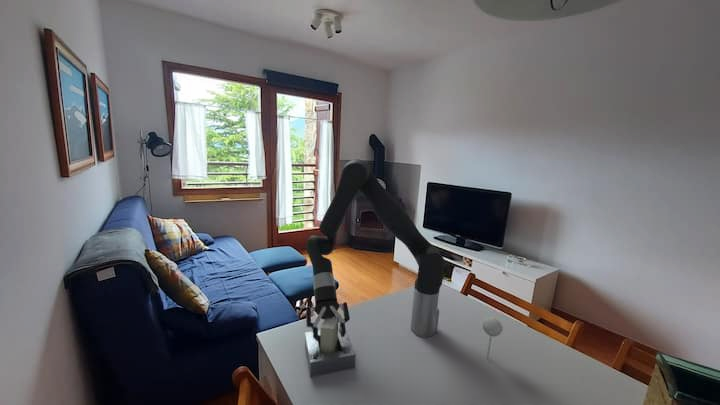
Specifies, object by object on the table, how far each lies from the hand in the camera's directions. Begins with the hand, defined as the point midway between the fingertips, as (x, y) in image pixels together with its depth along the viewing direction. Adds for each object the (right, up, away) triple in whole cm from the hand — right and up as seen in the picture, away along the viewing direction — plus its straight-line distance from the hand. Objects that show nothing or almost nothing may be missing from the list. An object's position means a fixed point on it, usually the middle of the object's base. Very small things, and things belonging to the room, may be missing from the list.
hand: (330, 338), depth 89 cm
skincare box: (-1, -7, +3) cm, 8 cm away
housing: (-1, -7, +3) cm, 8 cm away
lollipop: (+53, -10, +6) cm, 54 cm away
